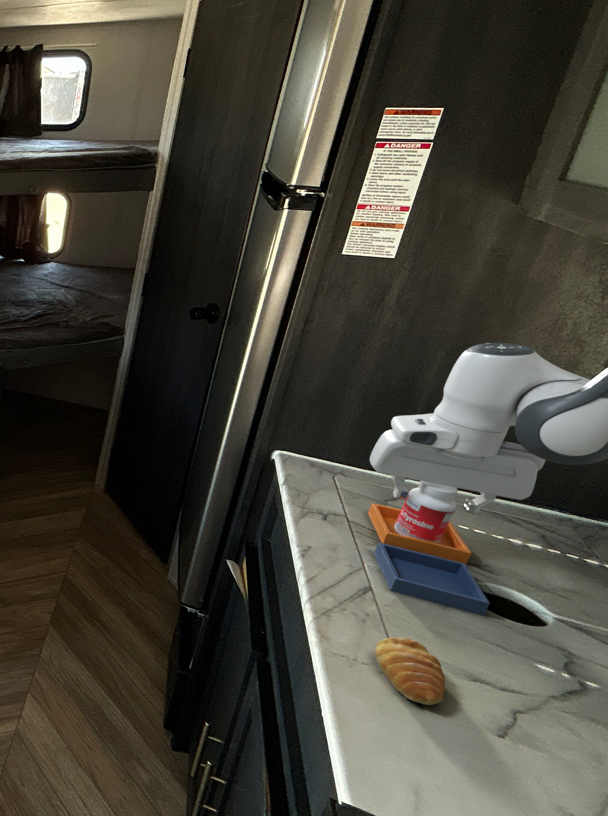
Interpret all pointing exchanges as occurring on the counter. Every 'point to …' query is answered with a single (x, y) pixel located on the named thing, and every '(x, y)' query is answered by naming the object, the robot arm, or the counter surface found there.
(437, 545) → the amber tray
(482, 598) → the blue tray
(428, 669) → the pastry
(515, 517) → the counter surface
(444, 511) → the pill bottle
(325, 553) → the counter surface
